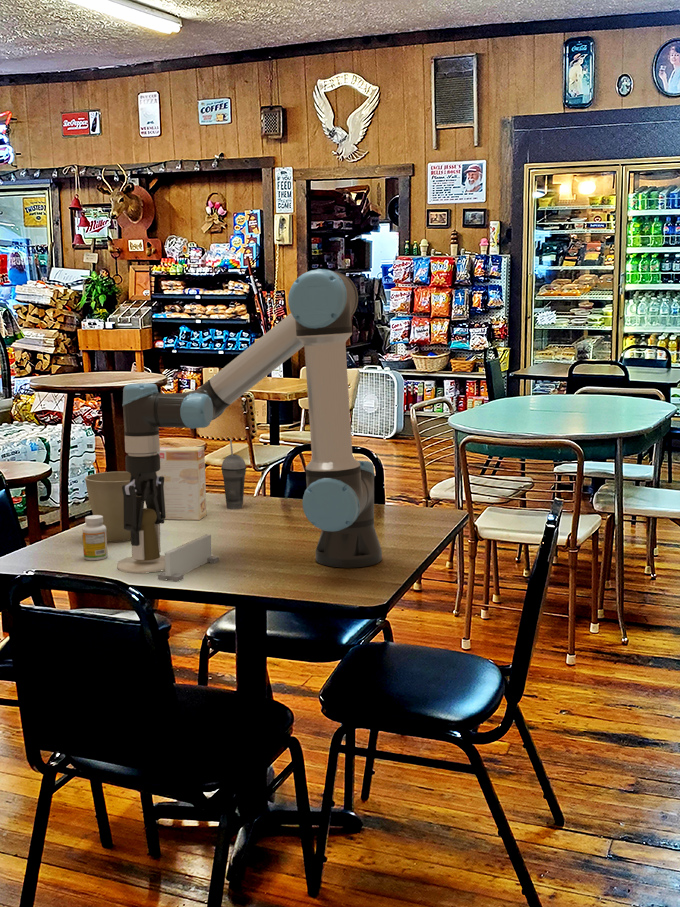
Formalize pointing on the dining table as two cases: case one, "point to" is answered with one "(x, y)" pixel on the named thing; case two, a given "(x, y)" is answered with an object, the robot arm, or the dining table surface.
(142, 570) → the ceramic saucer
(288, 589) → the dining table surface
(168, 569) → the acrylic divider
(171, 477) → the coffeecake box
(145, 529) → the brown pawn
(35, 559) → the dining table surface
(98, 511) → the plant pot
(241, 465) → the beverage cup
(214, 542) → the dining table surface
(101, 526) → the supplement bottle
